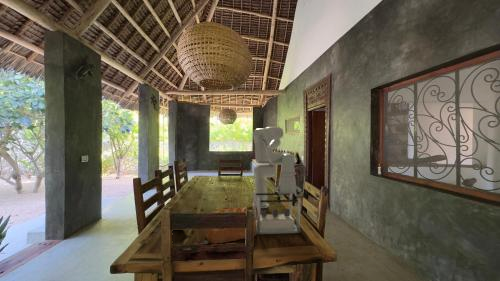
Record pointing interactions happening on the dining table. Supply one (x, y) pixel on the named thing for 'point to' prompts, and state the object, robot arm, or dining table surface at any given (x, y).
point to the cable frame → (296, 228)
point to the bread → (227, 229)
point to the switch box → (276, 222)
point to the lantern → (199, 235)
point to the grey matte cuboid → (286, 212)
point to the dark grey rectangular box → (275, 213)
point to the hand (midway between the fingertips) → (286, 202)
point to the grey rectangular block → (263, 213)
